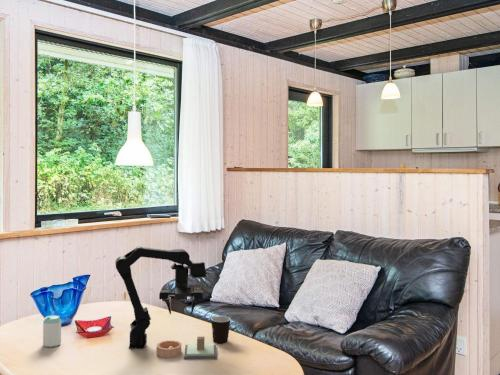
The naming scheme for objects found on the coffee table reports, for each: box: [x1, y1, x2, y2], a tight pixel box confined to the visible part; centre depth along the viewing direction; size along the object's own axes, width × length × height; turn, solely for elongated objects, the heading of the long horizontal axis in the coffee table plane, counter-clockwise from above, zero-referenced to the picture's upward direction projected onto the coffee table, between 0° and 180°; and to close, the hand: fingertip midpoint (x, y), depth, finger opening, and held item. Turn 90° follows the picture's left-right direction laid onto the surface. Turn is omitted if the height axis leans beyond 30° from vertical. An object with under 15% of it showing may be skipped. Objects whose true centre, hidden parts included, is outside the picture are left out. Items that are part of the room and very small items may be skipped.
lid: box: [187, 336, 215, 356], centre depth 198 cm, size 11×11×5 cm
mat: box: [183, 344, 218, 360], centre depth 198 cm, size 13×13×1 cm
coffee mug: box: [210, 315, 231, 345], centre depth 214 cm, size 12×9×10 cm
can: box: [42, 314, 62, 348], centre depth 203 cm, size 7×7×12 cm
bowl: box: [155, 339, 182, 359], centre depth 197 cm, size 10×10×4 cm
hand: (181, 313), depth 210 cm, fingers open, 9 cm apart
